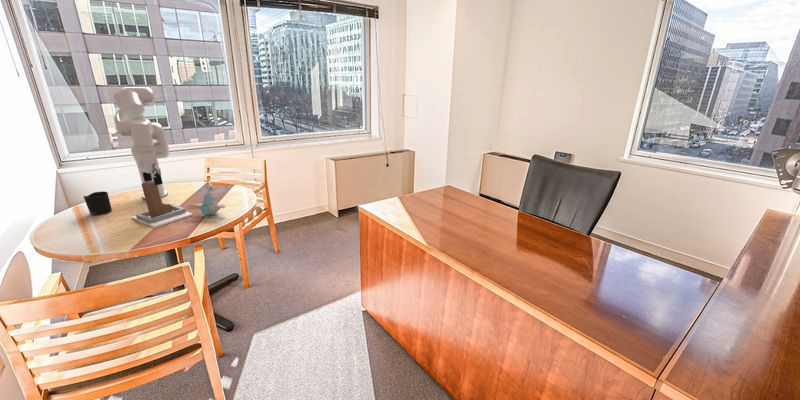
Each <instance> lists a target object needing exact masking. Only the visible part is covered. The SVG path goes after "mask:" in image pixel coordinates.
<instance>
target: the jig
mask: <svg viewBox="0 0 800 400" xmlns="http://www.w3.org/2000/svg"><path fill="white" fill-rule="evenodd" d="M170 205H171V209H172V212H170V213H167V214H163V215H160V216H157V217H154V218H151V217H150V214H149V210H147V211H143V212H139V213H136V214H135V215H132V216H131V217H130V218H131V219H132V220H134V221H137V222H139V223H141V224H144V225H147V226H148V225H149V227H151V228H154V229H156V228H158V227H162V226H165V225H168V224H171V223H174V222H177V221H180V220H183V219H186V218H189V217H192V216H193V213H191V212H188V211H187V209H186V208H184V207H182V206H178V205H175V204H173V203H172V204H171V203H170Z"/></svg>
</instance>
